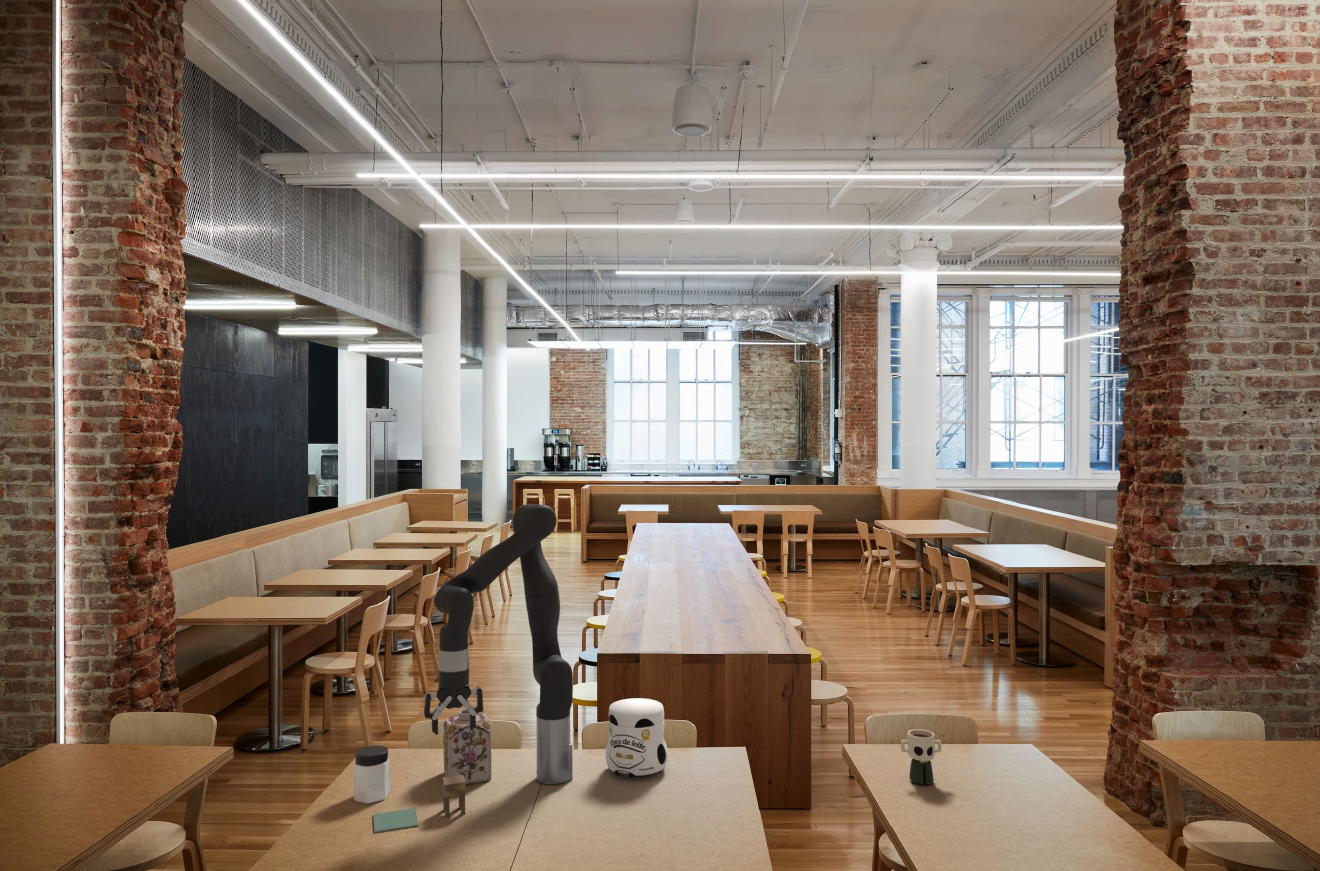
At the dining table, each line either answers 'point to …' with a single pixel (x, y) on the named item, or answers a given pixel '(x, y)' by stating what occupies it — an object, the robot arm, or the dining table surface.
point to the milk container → (636, 738)
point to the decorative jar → (467, 747)
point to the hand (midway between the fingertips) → (453, 731)
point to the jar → (371, 774)
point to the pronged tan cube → (454, 792)
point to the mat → (395, 820)
